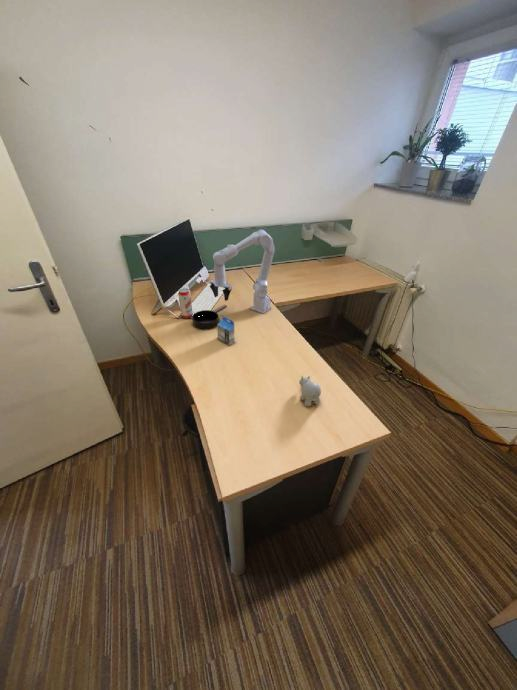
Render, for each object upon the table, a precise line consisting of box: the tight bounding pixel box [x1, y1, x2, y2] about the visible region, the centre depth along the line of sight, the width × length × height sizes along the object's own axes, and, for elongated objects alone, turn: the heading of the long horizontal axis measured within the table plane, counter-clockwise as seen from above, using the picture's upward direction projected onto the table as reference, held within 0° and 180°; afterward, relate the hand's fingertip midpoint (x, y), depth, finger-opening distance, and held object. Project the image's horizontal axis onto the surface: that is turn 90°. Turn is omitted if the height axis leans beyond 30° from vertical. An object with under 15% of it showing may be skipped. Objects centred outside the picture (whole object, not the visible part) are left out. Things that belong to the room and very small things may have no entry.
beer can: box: [177, 288, 194, 320], centre depth 150 cm, size 6×6×16 cm
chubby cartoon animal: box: [298, 375, 322, 408], centre depth 105 cm, size 7×12×8 cm, turn 16°
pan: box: [191, 304, 228, 331], centre depth 152 cm, size 14×24×4 cm, turn 145°
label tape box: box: [216, 314, 235, 346], centre depth 133 cm, size 9×4×12 cm, turn 47°
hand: (221, 298), depth 155 cm, fingers open, 7 cm apart
